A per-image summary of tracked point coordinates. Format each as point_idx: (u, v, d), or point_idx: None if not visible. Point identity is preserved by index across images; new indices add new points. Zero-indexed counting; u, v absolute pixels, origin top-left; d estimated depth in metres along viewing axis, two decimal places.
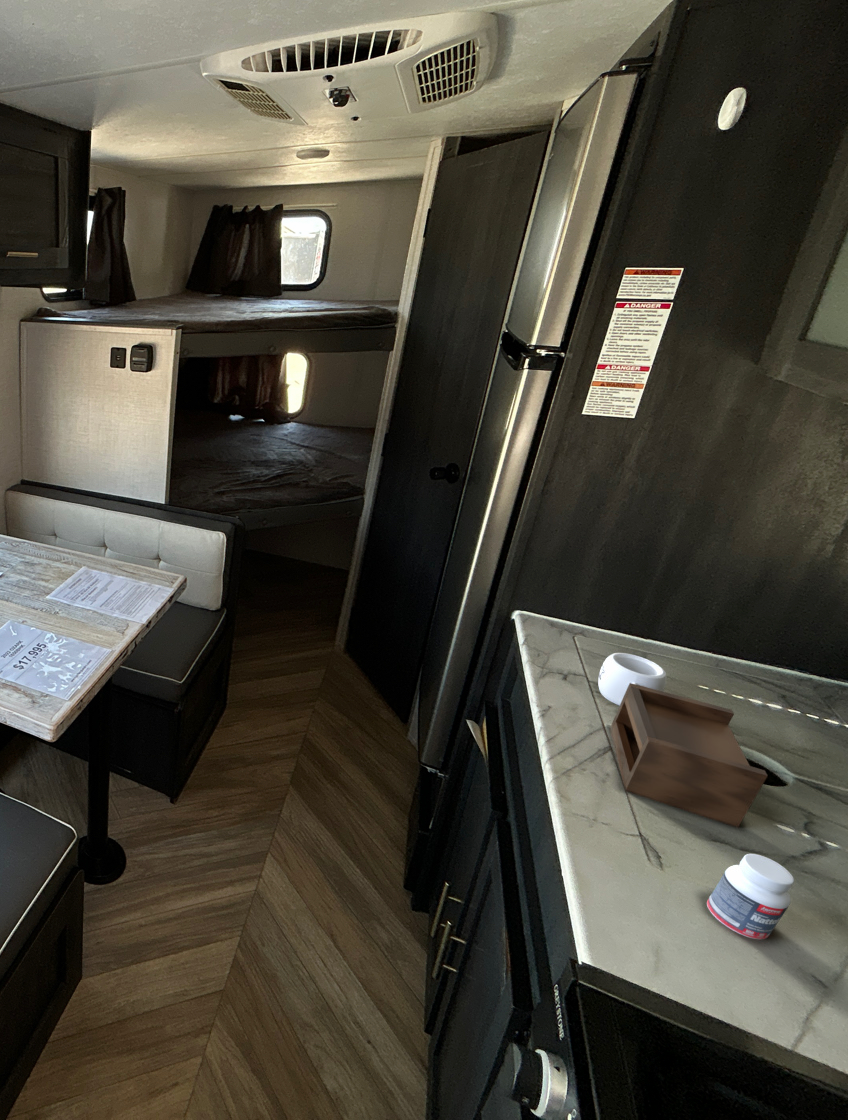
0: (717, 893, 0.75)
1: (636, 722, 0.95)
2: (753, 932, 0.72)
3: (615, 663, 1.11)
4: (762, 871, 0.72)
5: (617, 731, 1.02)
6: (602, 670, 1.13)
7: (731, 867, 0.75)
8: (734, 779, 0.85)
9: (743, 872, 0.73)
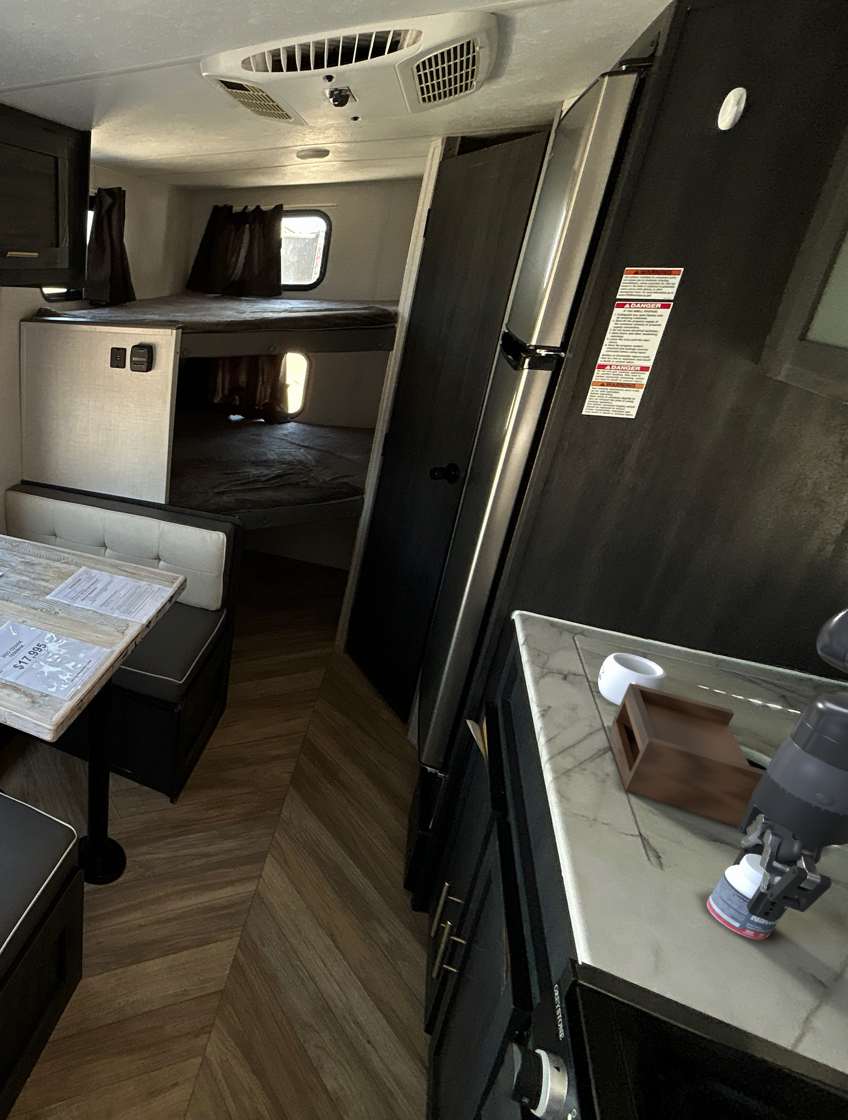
0: (717, 893, 0.75)
1: (636, 722, 0.95)
2: (753, 932, 0.72)
3: (615, 663, 1.11)
4: (762, 871, 0.72)
5: (617, 731, 1.02)
6: (602, 670, 1.13)
7: (731, 868, 0.75)
8: (734, 779, 0.85)
9: (743, 872, 0.73)
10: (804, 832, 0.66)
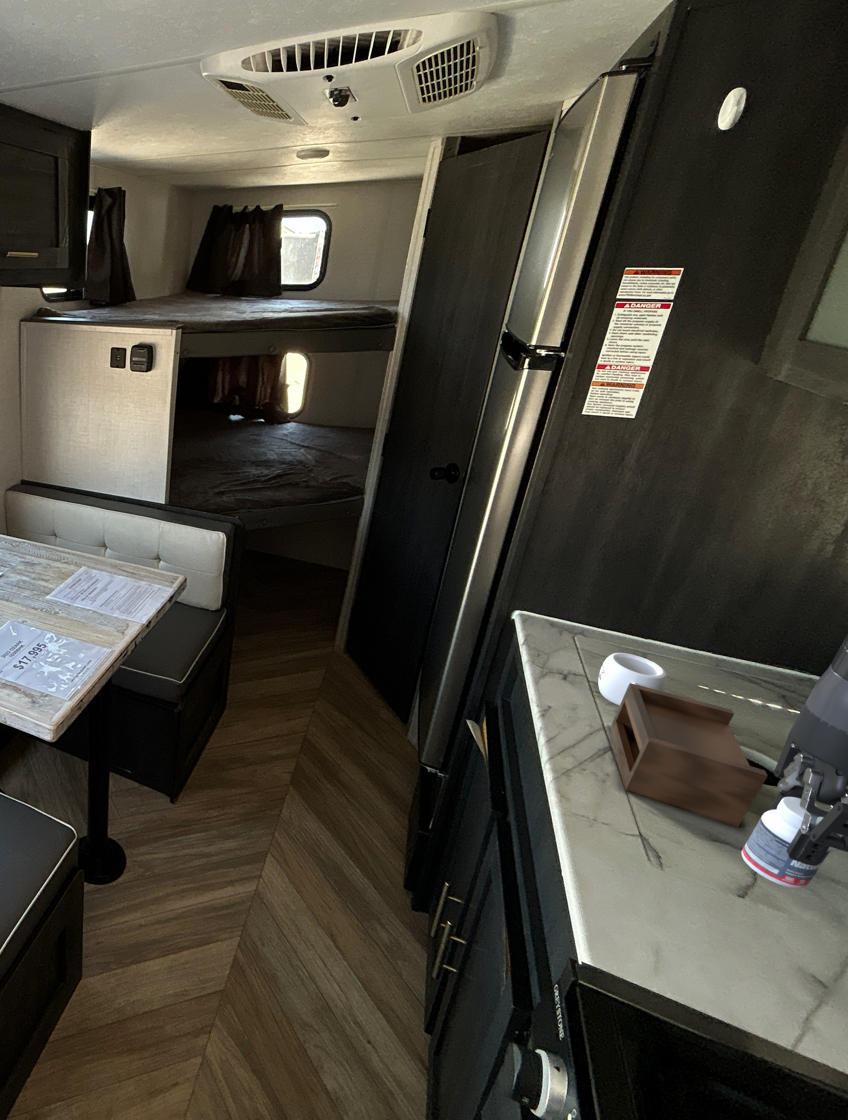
0: (753, 840, 0.71)
1: (636, 722, 0.95)
2: (793, 879, 0.69)
3: (615, 663, 1.11)
4: (802, 813, 0.68)
5: (617, 731, 1.02)
6: (602, 670, 1.13)
7: (768, 812, 0.71)
8: (734, 779, 0.85)
9: (781, 816, 0.69)
10: None
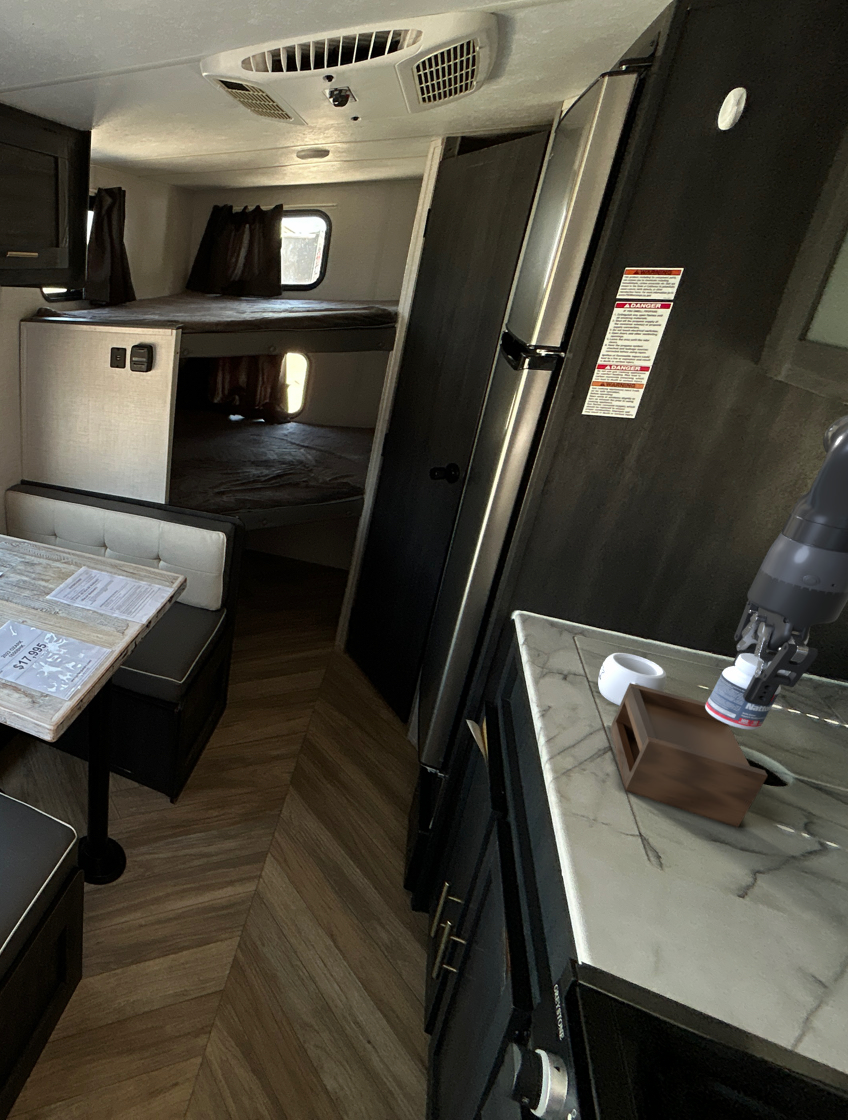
0: (715, 692, 0.83)
1: (636, 722, 0.95)
2: (748, 720, 0.81)
3: (615, 663, 1.11)
4: (755, 663, 0.80)
5: (617, 731, 1.02)
6: (602, 670, 1.13)
7: (728, 668, 0.83)
8: (734, 779, 0.85)
9: (738, 668, 0.81)
10: (794, 614, 0.75)
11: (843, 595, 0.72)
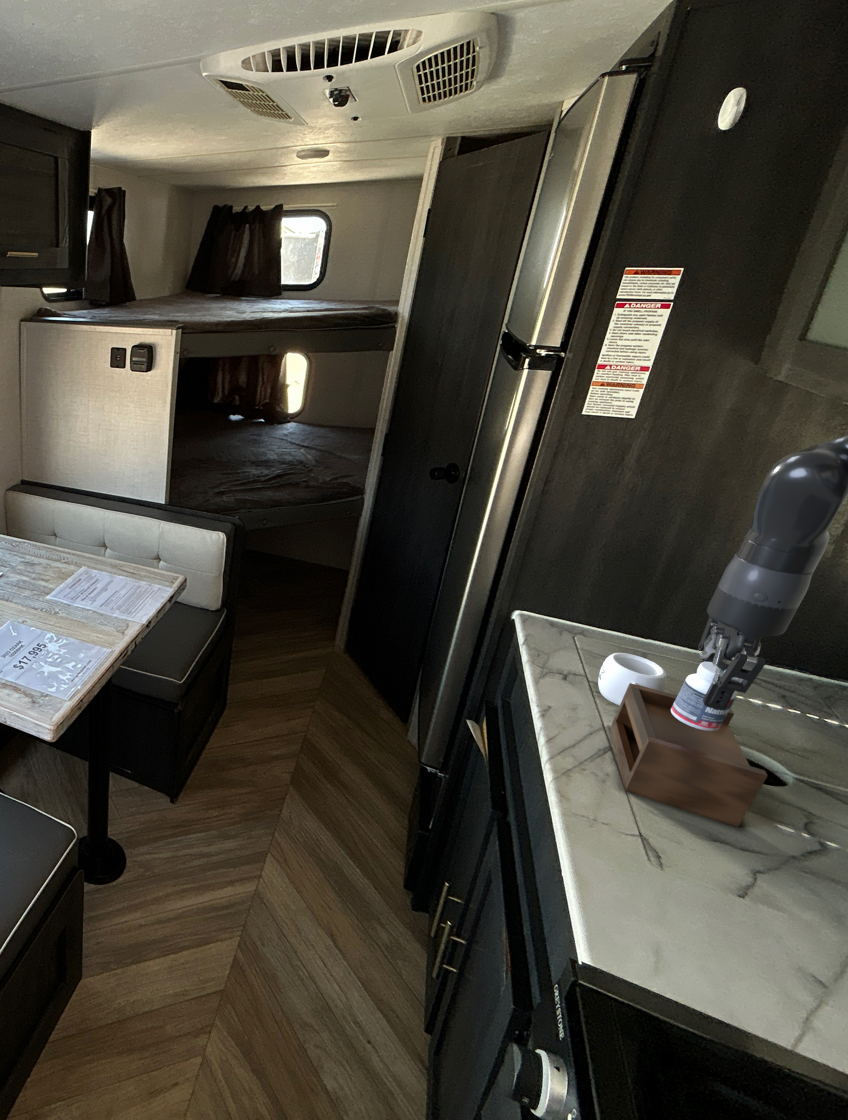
0: (679, 697, 0.92)
1: (636, 722, 0.95)
2: (707, 723, 0.89)
3: (615, 663, 1.11)
4: (714, 671, 0.88)
5: (617, 731, 1.02)
6: (602, 670, 1.13)
7: (691, 675, 0.91)
8: (734, 779, 0.85)
9: (699, 675, 0.90)
10: (745, 627, 0.83)
11: (789, 611, 0.81)
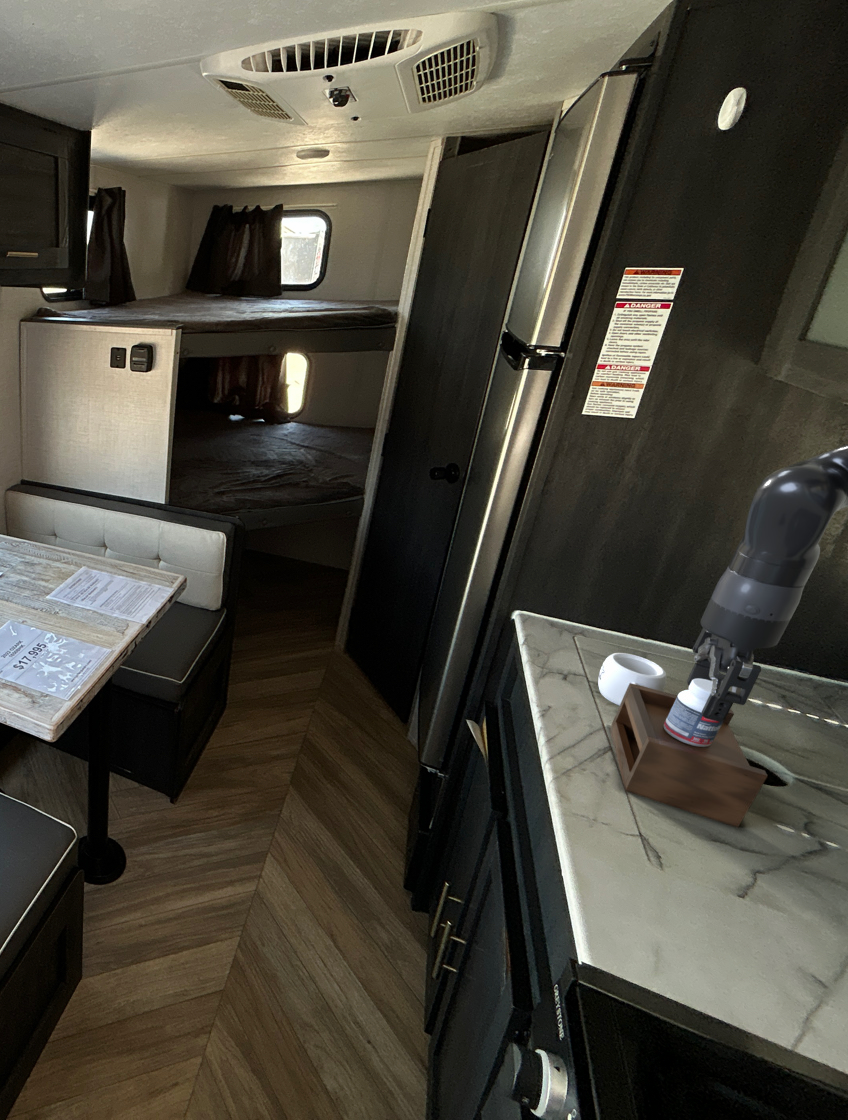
0: (671, 713, 0.93)
1: (636, 722, 0.95)
2: (699, 739, 0.91)
3: (615, 663, 1.11)
4: (705, 688, 0.90)
5: (617, 731, 1.02)
6: (602, 670, 1.13)
7: (683, 691, 0.93)
8: (734, 779, 0.85)
9: (691, 691, 0.91)
10: (738, 639, 0.84)
11: (781, 623, 0.82)
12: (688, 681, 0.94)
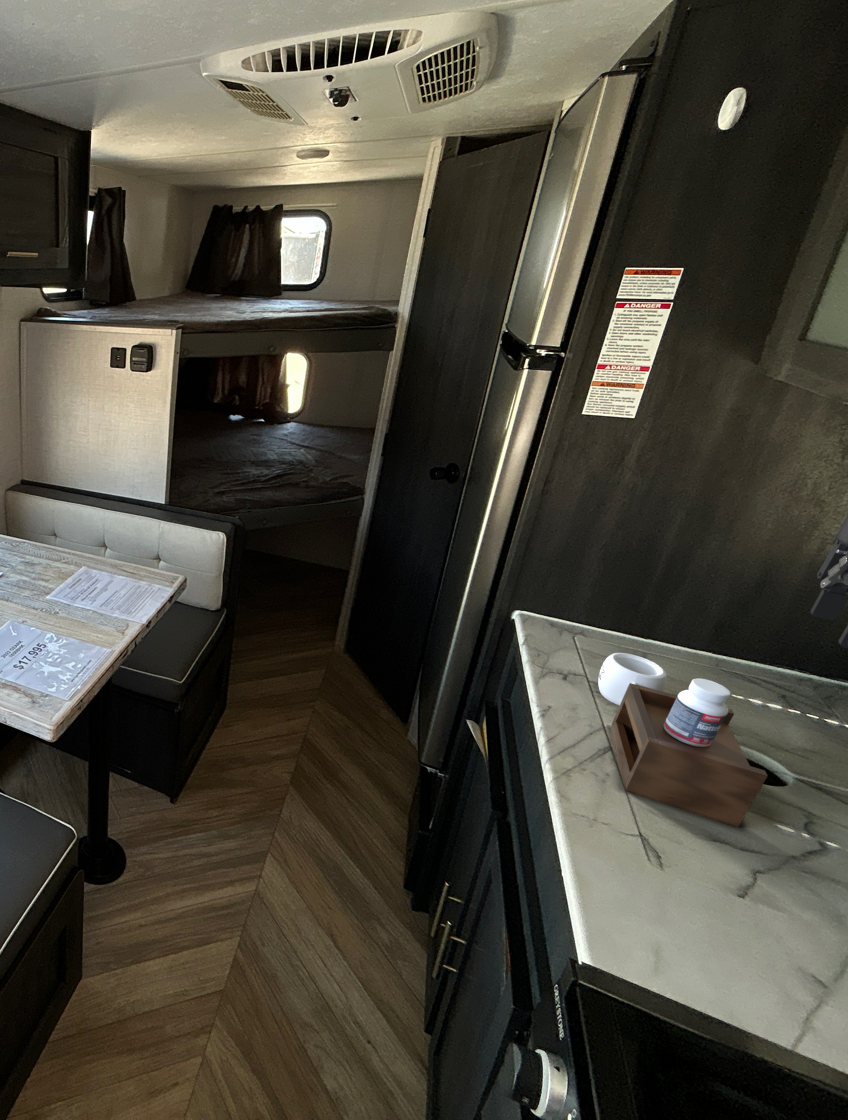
0: (671, 713, 0.93)
1: (636, 722, 0.95)
2: (699, 739, 0.91)
3: (615, 663, 1.11)
4: (706, 688, 0.90)
5: (617, 731, 1.02)
6: (602, 670, 1.13)
7: (683, 691, 0.93)
8: (734, 779, 0.85)
9: (691, 691, 0.91)
10: None
11: None
12: (813, 611, 0.82)
